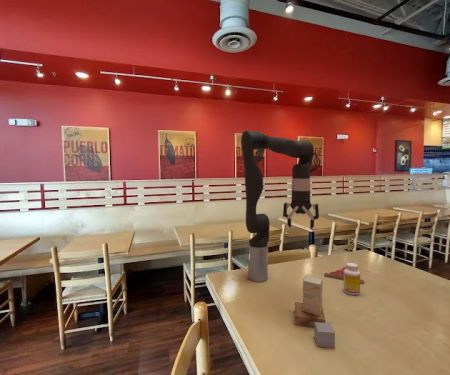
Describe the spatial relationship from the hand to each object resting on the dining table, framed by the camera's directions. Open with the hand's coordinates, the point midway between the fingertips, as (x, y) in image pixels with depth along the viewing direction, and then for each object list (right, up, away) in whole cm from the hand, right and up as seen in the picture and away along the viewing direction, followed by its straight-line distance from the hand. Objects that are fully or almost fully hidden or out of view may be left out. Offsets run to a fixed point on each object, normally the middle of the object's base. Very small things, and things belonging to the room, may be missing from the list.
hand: (300, 227), depth 108 cm
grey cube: (0, -33, -25) cm, 41 cm away
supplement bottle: (+25, -31, +8) cm, 41 cm away
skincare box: (+1, -29, -13) cm, 31 cm away
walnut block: (0, -33, -12) cm, 35 cm away
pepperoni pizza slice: (+33, -30, +29) cm, 53 cm away
